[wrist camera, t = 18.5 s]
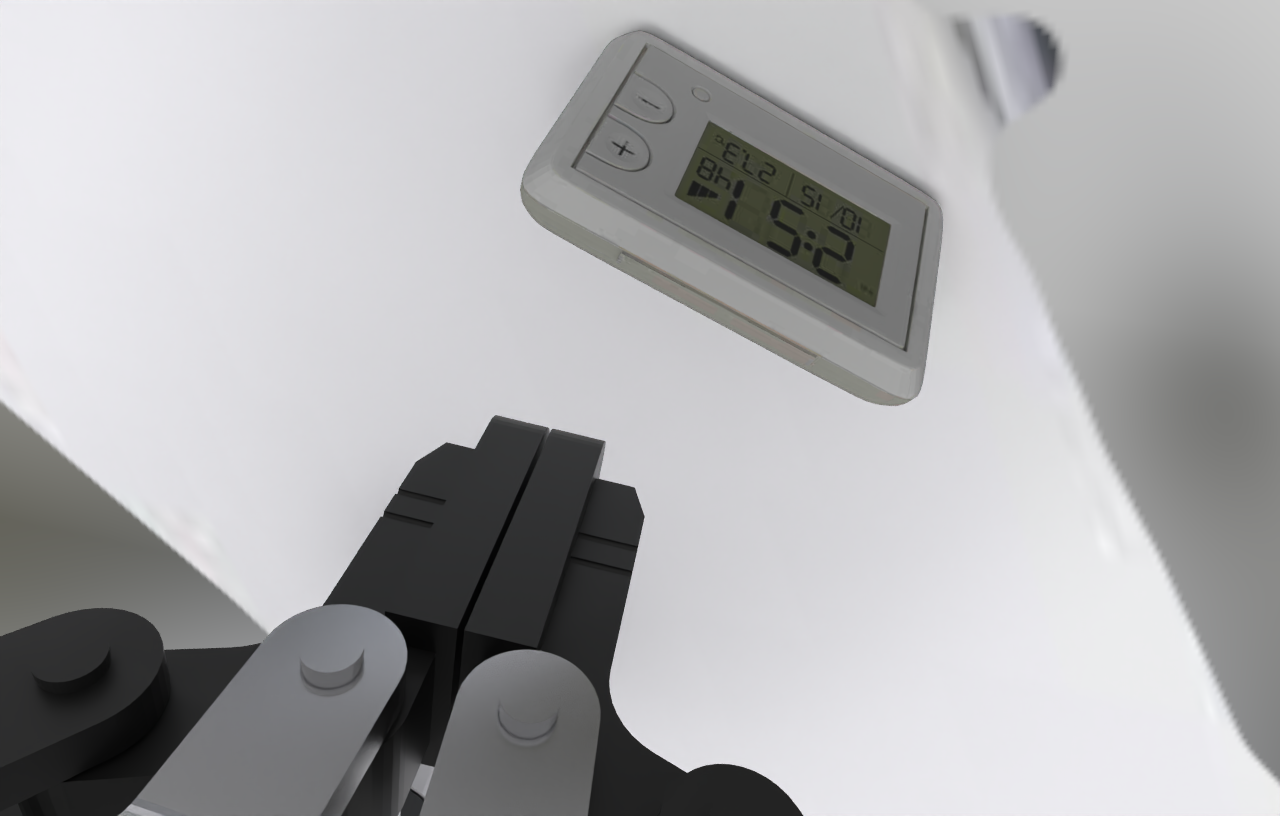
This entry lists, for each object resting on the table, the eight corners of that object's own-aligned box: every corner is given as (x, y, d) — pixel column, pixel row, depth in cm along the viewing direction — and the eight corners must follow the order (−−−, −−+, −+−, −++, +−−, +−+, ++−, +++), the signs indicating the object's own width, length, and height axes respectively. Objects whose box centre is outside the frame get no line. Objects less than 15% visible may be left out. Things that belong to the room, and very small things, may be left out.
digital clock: (961, 220, 36) (1017, 331, 27) (812, 353, 40) (817, 486, 31) (676, -48, 32) (631, -21, 23) (546, 133, 36) (468, 213, 28)
